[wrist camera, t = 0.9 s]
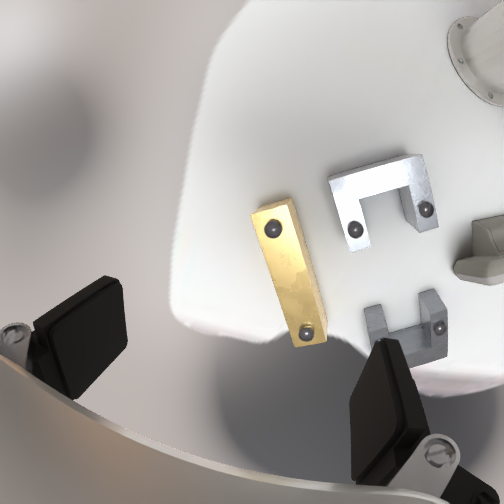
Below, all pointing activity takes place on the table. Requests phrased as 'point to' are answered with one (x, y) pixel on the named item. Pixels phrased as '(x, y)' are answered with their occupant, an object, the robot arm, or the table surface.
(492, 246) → the digital clock
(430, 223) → the bracket
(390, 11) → the table surface
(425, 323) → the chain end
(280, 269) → the link bar
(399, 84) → the table surface
